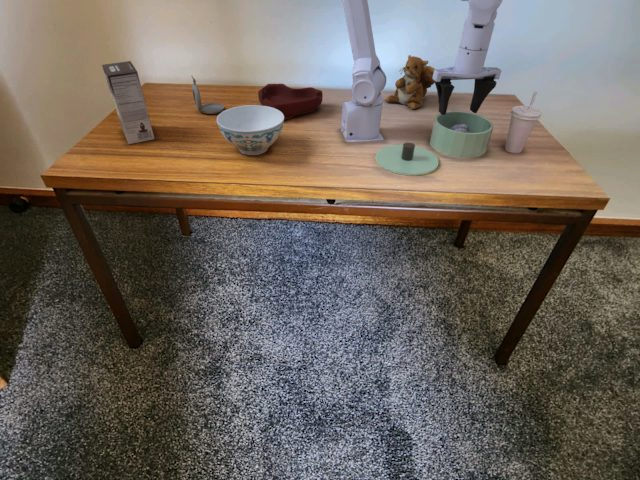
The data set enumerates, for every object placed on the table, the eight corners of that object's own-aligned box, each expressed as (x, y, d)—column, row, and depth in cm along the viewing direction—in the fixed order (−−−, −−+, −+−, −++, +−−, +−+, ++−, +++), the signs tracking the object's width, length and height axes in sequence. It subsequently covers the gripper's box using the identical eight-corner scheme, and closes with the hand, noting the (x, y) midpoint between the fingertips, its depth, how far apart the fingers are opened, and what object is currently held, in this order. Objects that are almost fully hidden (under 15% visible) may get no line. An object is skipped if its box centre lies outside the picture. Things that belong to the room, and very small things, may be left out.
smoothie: (514, 158, 93) (535, 98, 84) (493, 147, 97) (511, 88, 88) (532, 152, 95) (555, 93, 86) (511, 142, 99) (531, 84, 91)
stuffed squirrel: (383, 102, 119) (388, 55, 111) (411, 92, 127) (419, 47, 118) (410, 112, 114) (418, 63, 105) (438, 100, 121) (447, 54, 113)
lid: (385, 180, 84) (387, 161, 81) (368, 150, 94) (370, 133, 92) (447, 176, 86) (452, 158, 83) (424, 147, 96) (427, 130, 94)
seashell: (449, 140, 102) (458, 159, 94) (440, 124, 99) (448, 142, 91) (469, 128, 99) (479, 147, 92) (460, 111, 97) (470, 130, 89)
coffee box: (121, 130, 100) (100, 63, 90) (147, 126, 103) (130, 60, 93) (128, 145, 94) (106, 75, 84) (156, 139, 97) (138, 70, 87)
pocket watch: (229, 109, 113) (224, 73, 106) (207, 119, 107) (201, 81, 101) (208, 103, 116) (202, 67, 110) (186, 112, 110) (178, 75, 104)
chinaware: (268, 169, 87) (266, 135, 82) (208, 156, 90) (203, 124, 85) (295, 141, 98) (294, 110, 93) (241, 131, 101) (237, 101, 96)
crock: (442, 161, 91) (448, 135, 87) (421, 136, 101) (426, 112, 97) (495, 158, 92) (504, 132, 88) (470, 134, 103) (476, 110, 99)
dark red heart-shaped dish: (245, 118, 108) (243, 99, 105) (269, 98, 120) (268, 81, 117) (307, 127, 104) (306, 108, 101) (325, 106, 116) (326, 88, 113)
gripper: (495, 41, 85) (478, 104, 94) (432, 43, 83) (420, 107, 92) (514, 50, 80) (494, 115, 88) (446, 52, 78) (432, 119, 86)
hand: (457, 112), depth 90 cm, fingers open, 7 cm apart
